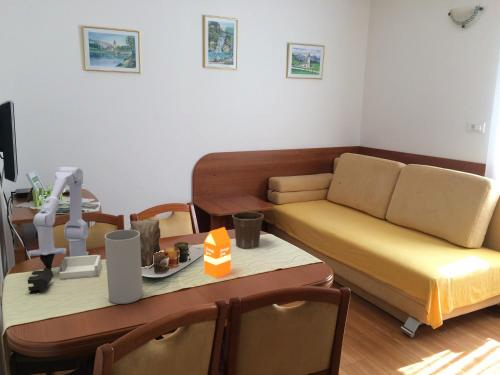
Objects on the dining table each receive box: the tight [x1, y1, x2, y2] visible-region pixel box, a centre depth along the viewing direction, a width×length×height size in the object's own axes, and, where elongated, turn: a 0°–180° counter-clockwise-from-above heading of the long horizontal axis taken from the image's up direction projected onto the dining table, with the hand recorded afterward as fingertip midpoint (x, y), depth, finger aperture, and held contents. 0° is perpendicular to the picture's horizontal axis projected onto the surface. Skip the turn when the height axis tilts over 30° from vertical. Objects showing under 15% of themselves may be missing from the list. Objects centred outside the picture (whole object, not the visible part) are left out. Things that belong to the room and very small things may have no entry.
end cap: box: [27, 267, 54, 295], centre depth 165 cm, size 10×7×7 cm
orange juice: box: [203, 226, 232, 279], centre depth 180 cm, size 8×9×20 cm
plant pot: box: [231, 211, 264, 250], centre depth 216 cm, size 16×16×16 cm
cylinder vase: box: [104, 229, 144, 305], centre depth 157 cm, size 12×12×25 cm
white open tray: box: [59, 254, 102, 281], centre depth 181 cm, size 13×15×5 cm
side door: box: [57, 258, 67, 274], centre depth 179 cm, size 10×2×4 cm, turn 14°
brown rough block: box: [129, 218, 161, 267], centre depth 191 cm, size 13×13×20 cm
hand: (49, 270), depth 178 cm, fingers closed
